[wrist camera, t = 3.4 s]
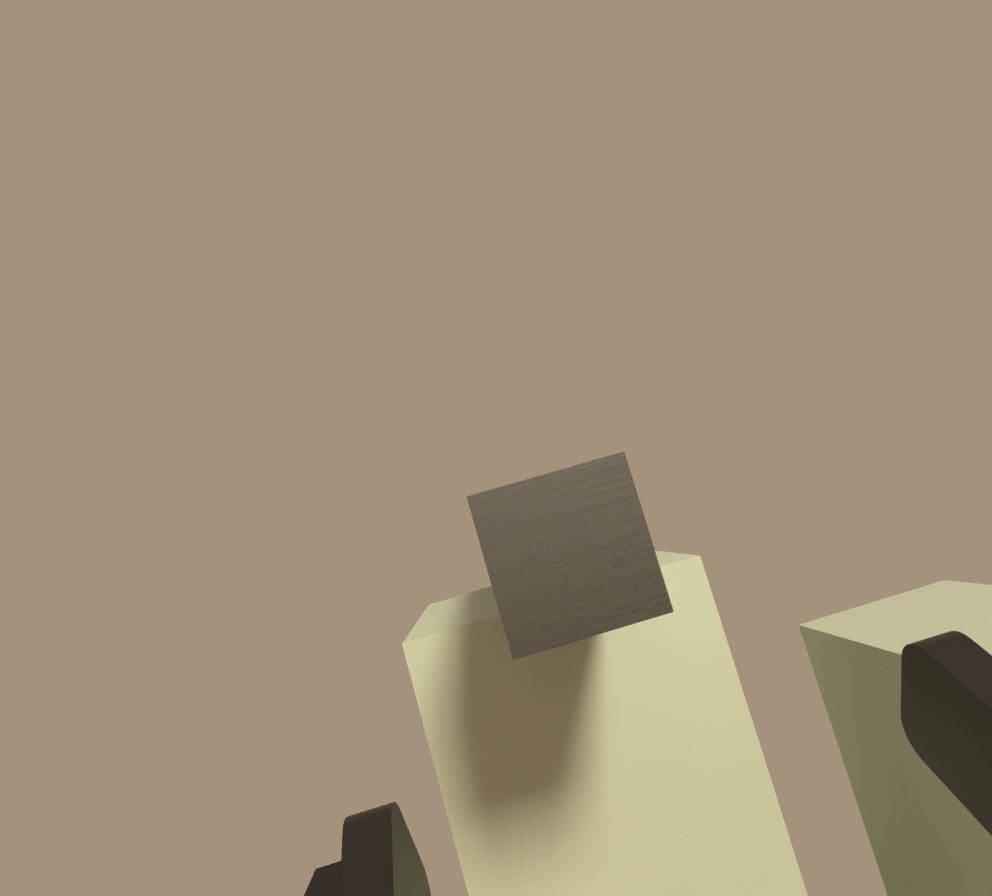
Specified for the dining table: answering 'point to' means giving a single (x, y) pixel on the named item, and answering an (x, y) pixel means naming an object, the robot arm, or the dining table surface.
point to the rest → (901, 737)
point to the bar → (569, 555)
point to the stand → (600, 754)
